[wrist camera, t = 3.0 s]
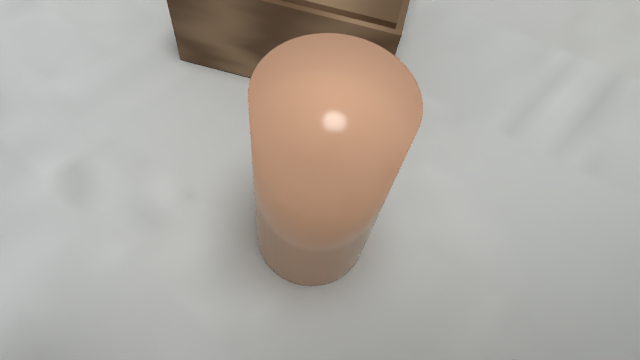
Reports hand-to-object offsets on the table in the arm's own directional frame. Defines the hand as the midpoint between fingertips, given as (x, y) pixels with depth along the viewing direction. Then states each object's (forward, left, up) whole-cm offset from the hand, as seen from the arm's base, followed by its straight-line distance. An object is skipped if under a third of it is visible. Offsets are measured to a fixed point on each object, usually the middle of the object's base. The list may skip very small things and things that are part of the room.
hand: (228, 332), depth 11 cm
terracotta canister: (-1, -8, -13) cm, 15 cm away
